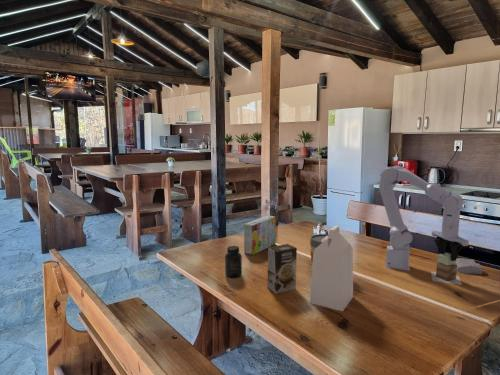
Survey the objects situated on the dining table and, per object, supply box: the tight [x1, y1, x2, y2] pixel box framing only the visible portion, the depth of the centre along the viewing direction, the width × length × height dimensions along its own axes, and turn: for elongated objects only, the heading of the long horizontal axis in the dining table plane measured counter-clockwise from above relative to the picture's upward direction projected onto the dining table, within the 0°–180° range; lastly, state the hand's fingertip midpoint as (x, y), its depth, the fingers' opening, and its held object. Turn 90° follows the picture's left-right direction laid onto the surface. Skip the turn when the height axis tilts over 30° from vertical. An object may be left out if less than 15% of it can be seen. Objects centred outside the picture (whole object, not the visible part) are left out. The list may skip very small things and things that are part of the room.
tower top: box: [436, 262, 458, 274], centre depth 139 cm, size 5×5×3 cm
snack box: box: [243, 215, 277, 256], centre depth 176 cm, size 21×6×15 cm, turn 144°
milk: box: [309, 225, 354, 312], centre depth 121 cm, size 12×12×26 cm
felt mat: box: [430, 271, 463, 286], centre depth 139 cm, size 10×10×1 cm
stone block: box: [456, 257, 483, 275], centre depth 149 cm, size 12×5×10 cm
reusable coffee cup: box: [309, 233, 329, 263], centre depth 145 cm, size 13×13×15 cm
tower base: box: [435, 270, 458, 281], centre depth 139 cm, size 5×5×3 cm
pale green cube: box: [436, 252, 456, 265], centre depth 138 cm, size 4×4×3 cm
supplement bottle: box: [224, 245, 243, 279], centre depth 143 cm, size 7×7×12 cm
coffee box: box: [267, 243, 298, 294], centre depth 130 cm, size 9×6×16 cm
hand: (447, 258), depth 138 cm, fingers closed on pale green cube, 4 cm apart
